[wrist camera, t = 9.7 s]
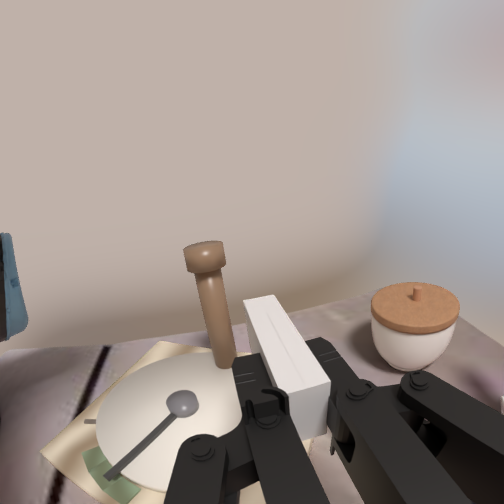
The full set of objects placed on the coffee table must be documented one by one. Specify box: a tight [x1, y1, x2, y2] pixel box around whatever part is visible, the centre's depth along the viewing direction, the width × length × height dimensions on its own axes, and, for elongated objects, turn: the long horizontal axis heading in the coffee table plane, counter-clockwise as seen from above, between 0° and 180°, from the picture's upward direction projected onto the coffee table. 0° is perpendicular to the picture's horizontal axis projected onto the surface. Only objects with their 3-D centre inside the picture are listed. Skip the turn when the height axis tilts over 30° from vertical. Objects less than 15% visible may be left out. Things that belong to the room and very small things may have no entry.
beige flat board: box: [40, 341, 314, 504], centre depth 24 cm, size 24×25×2 cm
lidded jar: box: [371, 282, 460, 372], centre depth 28 cm, size 11×11×9 cm
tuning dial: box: [96, 241, 242, 493], centre depth 21 cm, size 21×19×15 cm
